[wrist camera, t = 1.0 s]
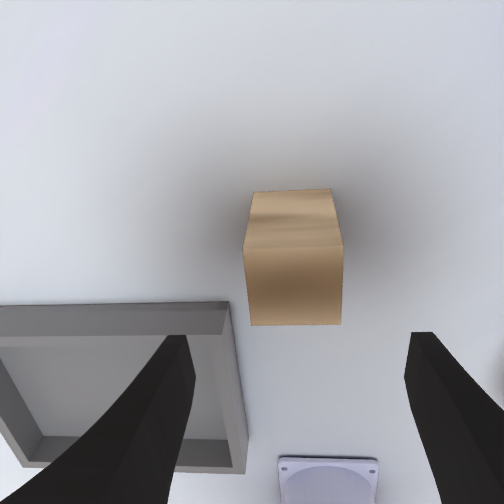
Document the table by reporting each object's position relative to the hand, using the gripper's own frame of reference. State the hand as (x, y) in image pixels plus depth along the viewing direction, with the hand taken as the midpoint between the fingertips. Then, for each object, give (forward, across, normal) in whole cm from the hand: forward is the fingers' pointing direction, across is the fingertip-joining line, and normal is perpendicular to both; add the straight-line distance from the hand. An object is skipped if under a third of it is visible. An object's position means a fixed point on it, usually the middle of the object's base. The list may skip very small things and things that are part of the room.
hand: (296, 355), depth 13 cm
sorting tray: (+10, +13, +13) cm, 21 cm away
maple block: (+10, 0, +1) cm, 10 cm away
